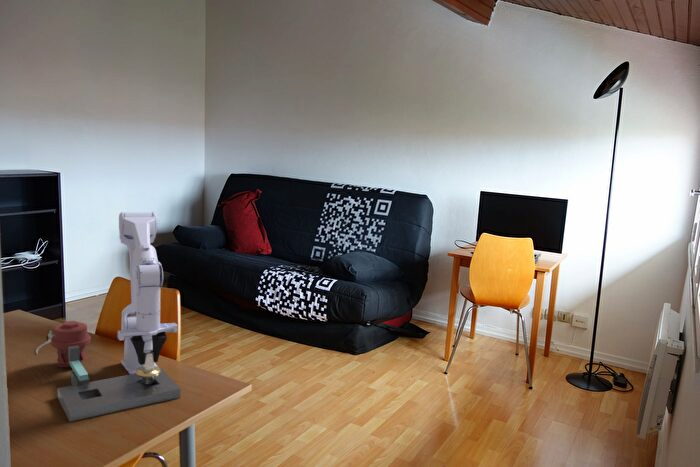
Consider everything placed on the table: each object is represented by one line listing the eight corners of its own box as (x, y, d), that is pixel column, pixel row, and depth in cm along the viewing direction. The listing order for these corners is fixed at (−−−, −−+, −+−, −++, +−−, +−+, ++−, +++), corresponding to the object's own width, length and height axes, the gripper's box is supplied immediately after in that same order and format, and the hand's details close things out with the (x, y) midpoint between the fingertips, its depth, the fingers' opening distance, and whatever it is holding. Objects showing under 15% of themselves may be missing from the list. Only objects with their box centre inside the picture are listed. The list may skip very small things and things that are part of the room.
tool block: (52, 386, 152) (51, 374, 152) (153, 367, 168) (153, 356, 167) (69, 422, 136) (69, 408, 135) (180, 397, 151) (180, 385, 151)
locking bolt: (68, 363, 158) (68, 346, 157) (78, 362, 160) (77, 345, 159) (78, 381, 149) (78, 362, 148) (89, 379, 150) (88, 360, 149)
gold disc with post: (132, 379, 153) (132, 349, 152) (155, 374, 157) (156, 346, 155) (139, 387, 148) (139, 357, 147) (163, 383, 152) (163, 353, 151)
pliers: (37, 355, 170) (26, 333, 186) (37, 358, 170) (26, 336, 186) (73, 350, 175) (60, 328, 191) (73, 352, 176) (60, 331, 191)
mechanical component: (76, 355, 173) (98, 364, 168) (43, 366, 164) (66, 375, 159) (75, 314, 171) (98, 322, 166) (42, 323, 162) (65, 331, 157)
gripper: (123, 319, 142) (123, 373, 144) (182, 311, 150) (181, 362, 153) (115, 311, 147) (115, 363, 150) (172, 304, 156) (171, 353, 158)
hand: (148, 362), depth 152 cm, fingers closed on gold disc with post, 3 cm apart
